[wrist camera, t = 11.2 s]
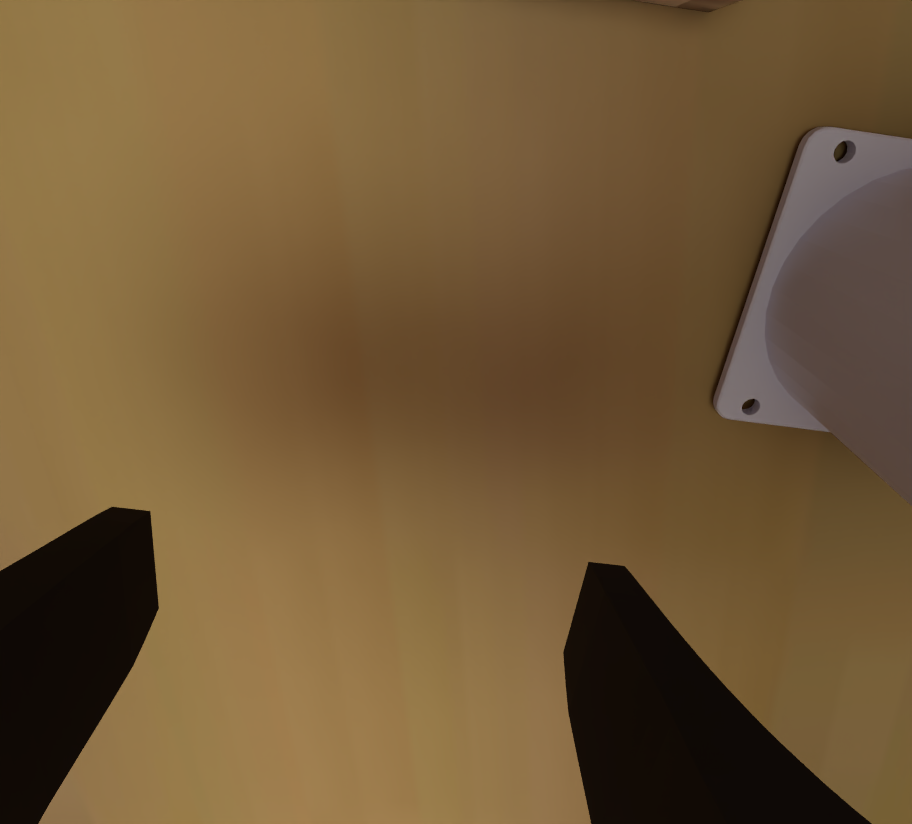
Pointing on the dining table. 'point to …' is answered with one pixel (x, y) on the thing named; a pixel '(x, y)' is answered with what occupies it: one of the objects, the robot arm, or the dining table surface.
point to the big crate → (694, 4)
